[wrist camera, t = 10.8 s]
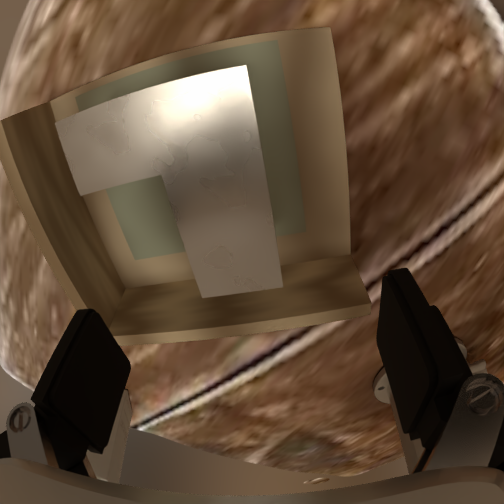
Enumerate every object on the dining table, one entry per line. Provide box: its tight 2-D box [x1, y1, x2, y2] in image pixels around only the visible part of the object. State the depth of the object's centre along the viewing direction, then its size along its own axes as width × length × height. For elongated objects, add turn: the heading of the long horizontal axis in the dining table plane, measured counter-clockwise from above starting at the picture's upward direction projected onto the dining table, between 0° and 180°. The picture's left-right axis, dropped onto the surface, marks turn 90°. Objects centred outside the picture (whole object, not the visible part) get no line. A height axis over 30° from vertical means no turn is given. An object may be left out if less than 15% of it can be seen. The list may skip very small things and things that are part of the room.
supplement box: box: [86, 389, 132, 484], centre depth 30 cm, size 7×7×13 cm
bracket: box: [55, 65, 283, 298], centre depth 15 cm, size 10×8×6 cm
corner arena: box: [0, 27, 371, 346], centre depth 17 cm, size 18×16×6 cm
